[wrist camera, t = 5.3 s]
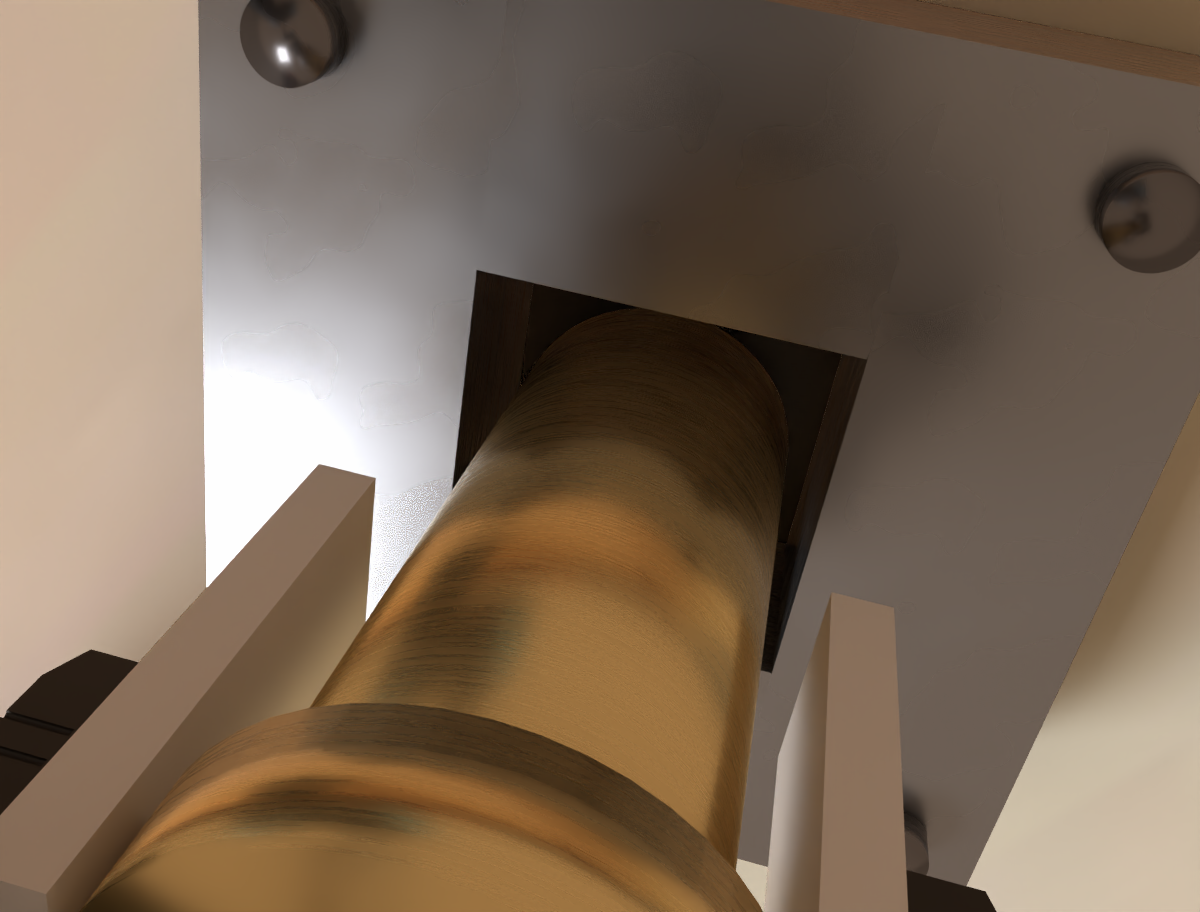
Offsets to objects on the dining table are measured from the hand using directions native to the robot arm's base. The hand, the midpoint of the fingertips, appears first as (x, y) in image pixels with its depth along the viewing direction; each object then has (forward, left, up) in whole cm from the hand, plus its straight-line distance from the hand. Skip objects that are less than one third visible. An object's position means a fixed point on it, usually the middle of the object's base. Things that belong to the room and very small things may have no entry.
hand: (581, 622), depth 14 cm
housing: (0, 0, -7) cm, 7 cm away
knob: (0, 0, -5) cm, 5 cm away
